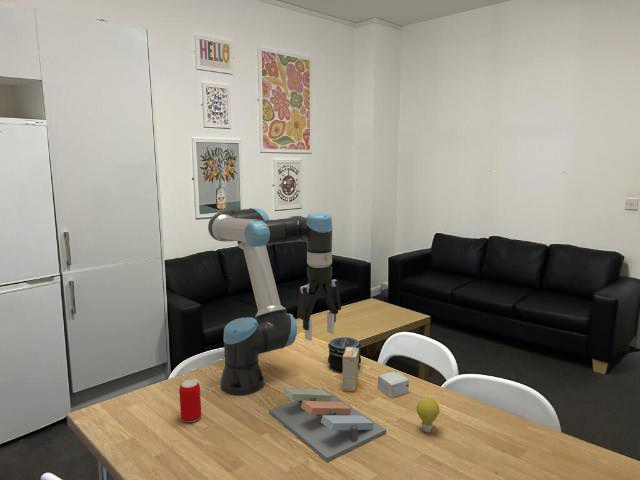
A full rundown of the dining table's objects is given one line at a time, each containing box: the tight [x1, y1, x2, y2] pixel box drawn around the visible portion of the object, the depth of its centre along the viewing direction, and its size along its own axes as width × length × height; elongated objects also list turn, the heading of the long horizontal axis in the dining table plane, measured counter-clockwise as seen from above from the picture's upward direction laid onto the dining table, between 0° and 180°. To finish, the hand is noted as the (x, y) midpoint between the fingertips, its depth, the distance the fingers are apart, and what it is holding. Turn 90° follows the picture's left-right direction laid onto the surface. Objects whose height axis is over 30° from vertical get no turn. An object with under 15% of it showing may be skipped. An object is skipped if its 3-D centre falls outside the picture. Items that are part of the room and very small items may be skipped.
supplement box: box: [341, 347, 359, 393], centre depth 168 cm, size 8×5×13 cm, turn 168°
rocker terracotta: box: [301, 401, 353, 415], centre depth 146 cm, size 6×16×2 cm, turn 127°
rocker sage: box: [282, 387, 332, 401], centre depth 153 cm, size 6×16×2 cm, turn 127°
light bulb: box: [416, 397, 440, 433], centre depth 142 cm, size 7×7×10 cm
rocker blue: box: [321, 415, 374, 431], centre depth 138 cm, size 6×16×2 cm, turn 127°
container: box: [327, 336, 362, 374], centre depth 183 cm, size 13×13×10 cm
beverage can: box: [178, 379, 202, 423], centre depth 148 cm, size 6×6×12 cm
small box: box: [377, 370, 410, 398], centre depth 166 cm, size 8×8×5 cm
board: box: [269, 389, 387, 463], centre depth 146 cm, size 30×22×5 cm
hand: (319, 335), depth 149 cm, fingers open, 8 cm apart
